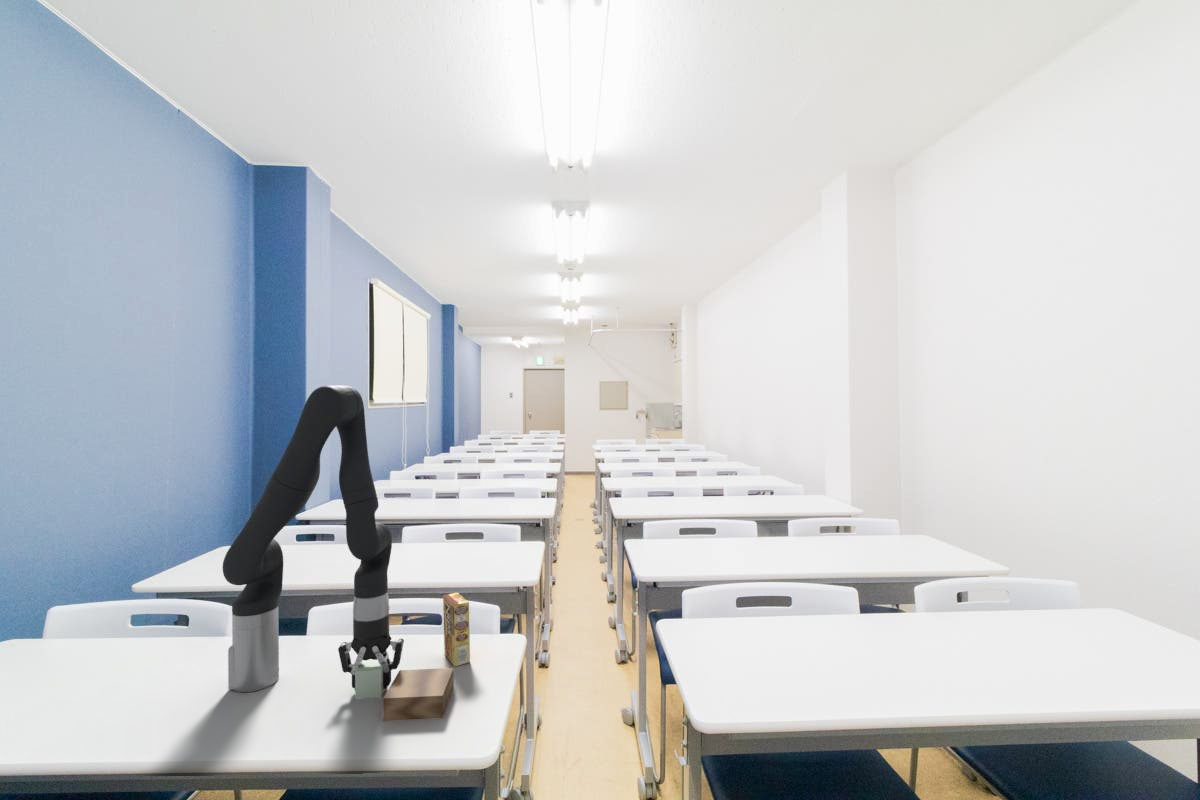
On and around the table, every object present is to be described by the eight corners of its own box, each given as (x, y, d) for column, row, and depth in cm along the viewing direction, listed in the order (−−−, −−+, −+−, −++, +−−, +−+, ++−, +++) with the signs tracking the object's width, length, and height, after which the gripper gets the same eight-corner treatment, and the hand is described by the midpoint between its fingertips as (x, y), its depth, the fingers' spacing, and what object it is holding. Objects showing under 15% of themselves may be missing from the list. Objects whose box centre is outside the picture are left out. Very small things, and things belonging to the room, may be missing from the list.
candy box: (470, 662, 140) (470, 601, 140) (454, 667, 137) (453, 605, 137) (458, 649, 147) (458, 591, 147) (442, 654, 145) (442, 594, 145)
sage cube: (355, 699, 123) (355, 671, 123) (362, 686, 129) (362, 660, 129) (381, 697, 124) (381, 670, 124) (387, 684, 129) (387, 658, 129)
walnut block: (383, 722, 115) (383, 698, 115) (399, 692, 127) (399, 670, 127) (442, 719, 116) (442, 695, 116) (453, 689, 128) (453, 667, 128)
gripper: (332, 621, 122) (332, 699, 122) (400, 617, 124) (401, 694, 124) (343, 608, 129) (343, 682, 129) (407, 605, 131) (408, 677, 131)
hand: (371, 687), depth 126 cm, fingers closed on sage cube, 5 cm apart
